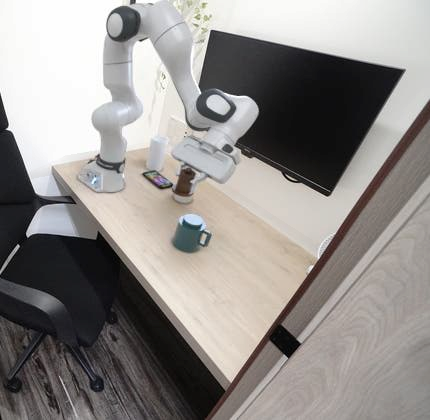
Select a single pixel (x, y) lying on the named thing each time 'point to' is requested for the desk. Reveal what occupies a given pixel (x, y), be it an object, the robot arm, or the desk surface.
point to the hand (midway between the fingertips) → (184, 180)
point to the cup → (157, 152)
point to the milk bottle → (186, 199)
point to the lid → (184, 183)
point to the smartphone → (158, 179)
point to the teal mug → (190, 233)
